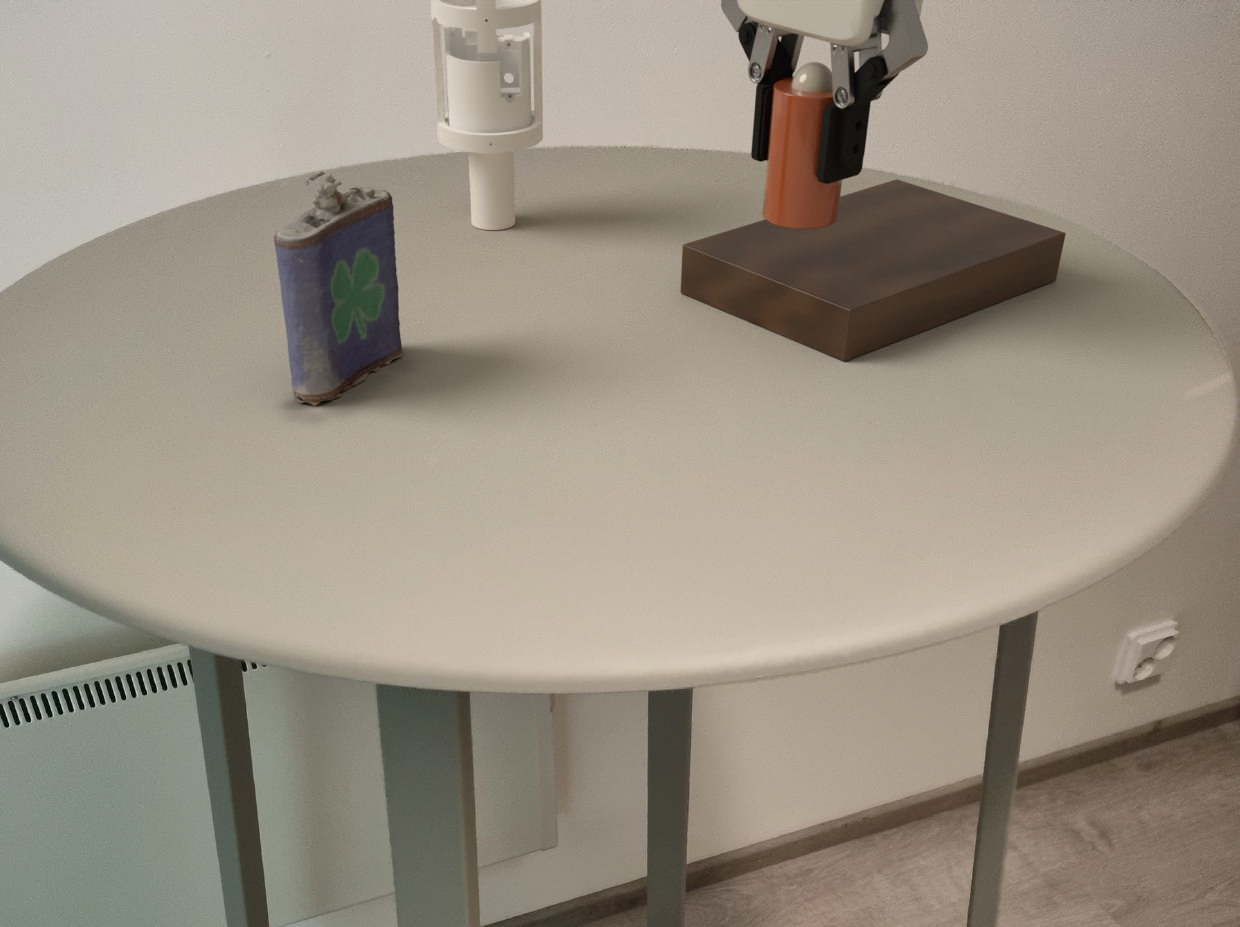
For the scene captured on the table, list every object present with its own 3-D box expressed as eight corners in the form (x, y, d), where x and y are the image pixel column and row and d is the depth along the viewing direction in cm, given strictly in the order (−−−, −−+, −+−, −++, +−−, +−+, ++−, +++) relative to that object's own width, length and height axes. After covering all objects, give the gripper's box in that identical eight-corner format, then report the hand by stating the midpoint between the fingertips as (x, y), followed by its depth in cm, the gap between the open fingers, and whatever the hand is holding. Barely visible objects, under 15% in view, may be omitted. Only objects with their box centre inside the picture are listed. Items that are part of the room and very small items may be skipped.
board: (1056, 281, 97) (1066, 232, 95) (844, 362, 87) (850, 310, 85) (890, 224, 105) (896, 179, 103) (679, 293, 95) (682, 244, 93)
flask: (320, 410, 82) (296, 204, 75) (277, 399, 83) (249, 195, 76) (413, 351, 88) (399, 155, 81) (372, 342, 90) (354, 148, 82)
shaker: (853, 218, 89) (872, 64, 83) (801, 235, 87) (817, 78, 81) (798, 199, 91) (813, 48, 86) (747, 215, 89) (759, 61, 84)
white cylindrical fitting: (441, 241, 102) (427, -11, 92) (443, 206, 108) (430, -36, 98) (545, 239, 103) (542, -12, 93) (542, 205, 108) (539, -37, 98)
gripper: (1029, -212, 72) (962, 191, 84) (775, -243, 82) (748, 123, 94) (926, -199, 68) (871, 219, 80) (673, -233, 78) (659, 145, 90)
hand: (805, 163), depth 87 cm, fingers closed on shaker, 4 cm apart
